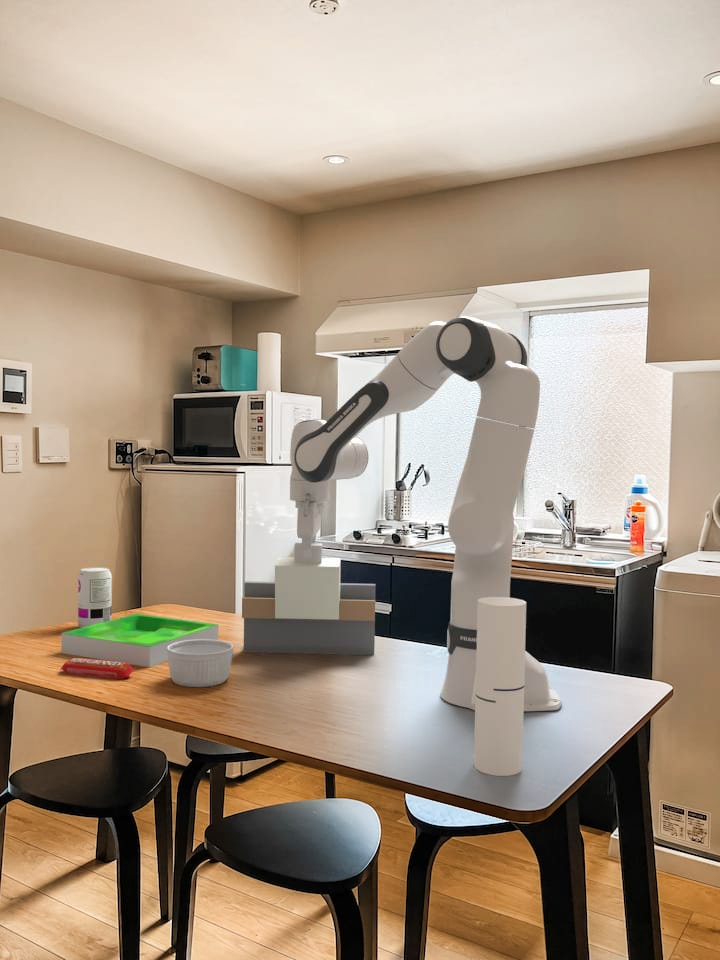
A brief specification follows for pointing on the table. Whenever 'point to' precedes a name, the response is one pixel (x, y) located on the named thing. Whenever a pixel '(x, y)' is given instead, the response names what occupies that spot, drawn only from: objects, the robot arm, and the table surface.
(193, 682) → the ramekin
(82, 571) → the supplement can
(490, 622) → the cylindrical container
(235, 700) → the table surface
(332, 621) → the wall board
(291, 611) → the off-white handled block
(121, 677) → the candy bar
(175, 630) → the tray
